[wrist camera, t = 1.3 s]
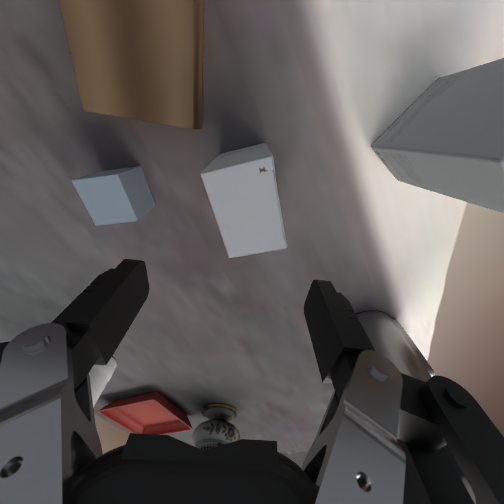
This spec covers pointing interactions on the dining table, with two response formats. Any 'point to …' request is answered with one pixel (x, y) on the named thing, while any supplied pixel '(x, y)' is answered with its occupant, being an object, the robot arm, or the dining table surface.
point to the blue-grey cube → (115, 195)
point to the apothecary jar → (216, 427)
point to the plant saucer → (147, 415)
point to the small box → (245, 200)
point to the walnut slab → (138, 58)
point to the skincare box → (453, 138)
